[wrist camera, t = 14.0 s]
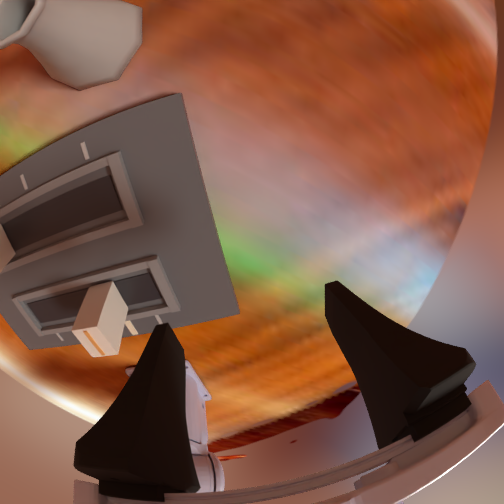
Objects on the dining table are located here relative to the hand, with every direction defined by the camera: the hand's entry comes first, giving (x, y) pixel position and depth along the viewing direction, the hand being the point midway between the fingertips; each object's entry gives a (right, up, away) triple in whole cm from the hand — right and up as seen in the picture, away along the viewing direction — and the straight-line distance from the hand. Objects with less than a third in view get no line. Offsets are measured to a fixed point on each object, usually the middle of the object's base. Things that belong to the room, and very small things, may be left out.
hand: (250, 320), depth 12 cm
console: (-15, +3, +7) cm, 17 cm away
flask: (-10, +17, 0) cm, 20 cm away
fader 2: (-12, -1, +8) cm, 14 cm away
